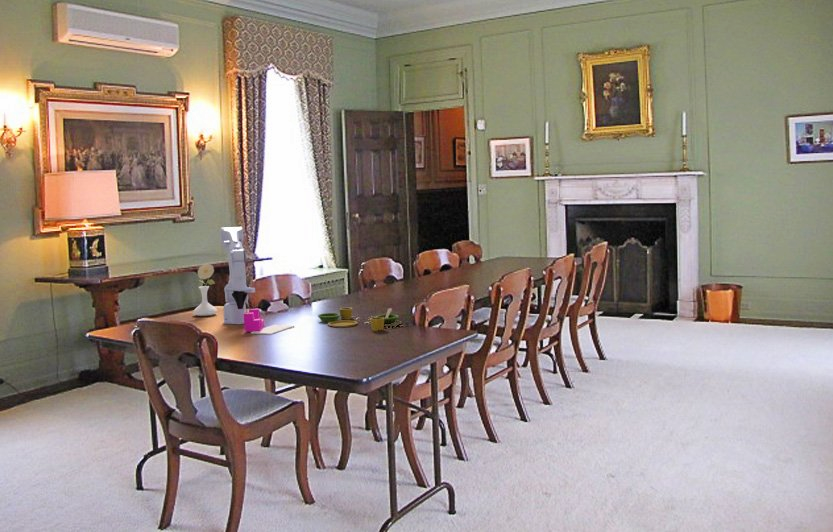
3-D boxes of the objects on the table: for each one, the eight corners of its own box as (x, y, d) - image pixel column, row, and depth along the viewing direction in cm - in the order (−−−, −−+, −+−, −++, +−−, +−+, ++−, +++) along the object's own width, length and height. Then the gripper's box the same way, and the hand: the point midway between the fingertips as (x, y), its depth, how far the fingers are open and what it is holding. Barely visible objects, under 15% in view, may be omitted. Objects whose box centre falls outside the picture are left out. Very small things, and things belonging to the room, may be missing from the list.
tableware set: (414, 327, 345) (413, 312, 344) (357, 336, 330) (356, 320, 329) (365, 315, 379) (364, 302, 378) (311, 322, 364) (310, 308, 363)
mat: (250, 333, 338) (250, 332, 338) (274, 325, 355) (274, 324, 355) (271, 334, 334) (271, 333, 334) (294, 326, 351) (294, 325, 351)
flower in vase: (187, 316, 386) (185, 264, 383) (206, 312, 395) (203, 261, 392) (206, 318, 378) (204, 265, 376) (225, 314, 388) (222, 262, 385)
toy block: (260, 330, 340) (258, 313, 339) (245, 331, 340) (243, 314, 339) (266, 325, 355) (264, 308, 354) (251, 326, 355) (250, 309, 354)
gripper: (219, 278, 347) (220, 309, 349) (247, 278, 342) (249, 310, 343) (229, 276, 354) (230, 307, 355) (257, 276, 348) (258, 308, 350)
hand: (240, 308), depth 350 cm, fingers closed
